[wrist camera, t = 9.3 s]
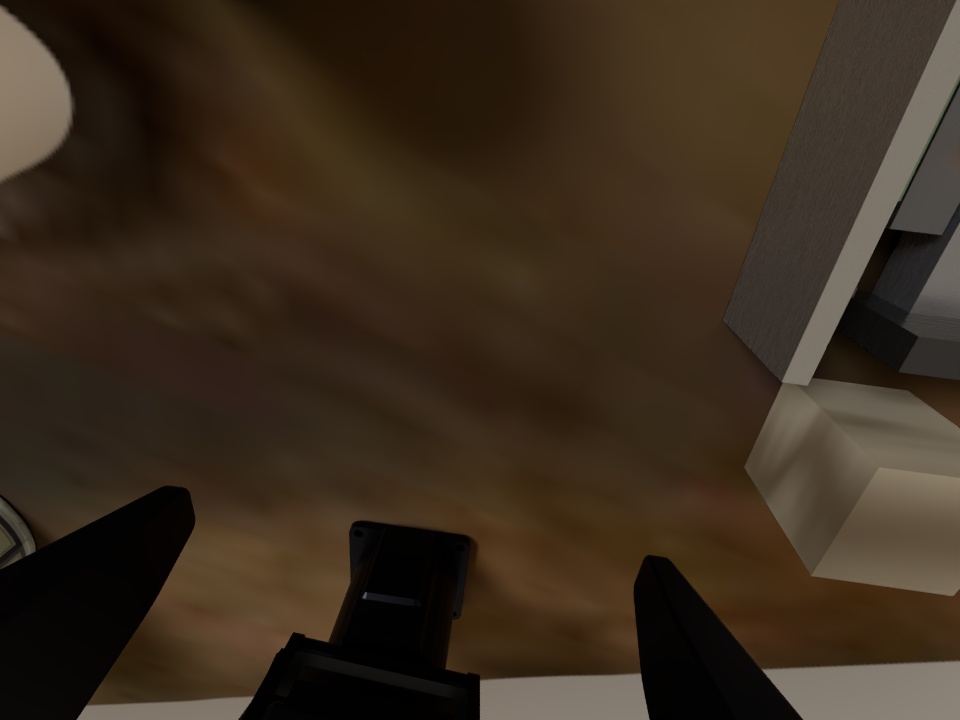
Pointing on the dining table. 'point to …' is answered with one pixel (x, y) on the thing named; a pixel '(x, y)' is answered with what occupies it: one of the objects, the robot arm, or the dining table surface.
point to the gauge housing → (853, 175)
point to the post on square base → (913, 306)
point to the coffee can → (13, 536)
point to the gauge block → (863, 484)
